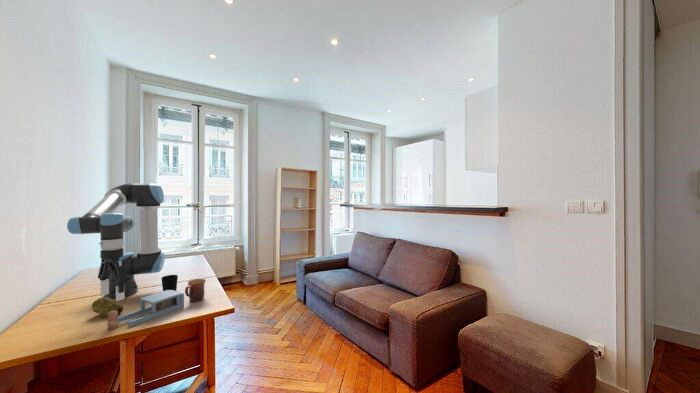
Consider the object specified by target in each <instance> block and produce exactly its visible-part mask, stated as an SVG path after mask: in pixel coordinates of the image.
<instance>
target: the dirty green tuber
mask: <svg viewBox="0 0 700 393" xmlns="http://www.w3.org/2000/svg"><path fill="white" fill-rule="evenodd" d="M91 308H92V311H93V312H94V313H96V314H99V316H101V317H104V318H105V317H107V318H108V312H111V311H118V315H119V314H121V313H122V312H123V311H124V306H123V305H122V304H121V303H119V302H118V301H116V299H114V298H107V297H104V296H102V297H100V298H97V299H96V300H95V301H93V303H92V304H91Z"/></svg>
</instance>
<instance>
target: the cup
mask: <svg viewBox="0 0 700 393" xmlns="http://www.w3.org/2000/svg"><path fill="white" fill-rule="evenodd" d="M178 277H179V276H178V275H177V274H168V275H163V276H162V277H161V287H162V291H166V290H174V291H177V287H178Z"/></svg>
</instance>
